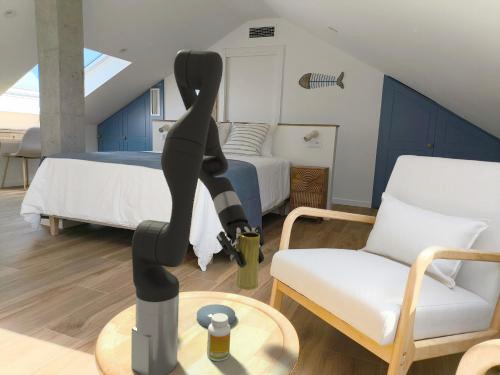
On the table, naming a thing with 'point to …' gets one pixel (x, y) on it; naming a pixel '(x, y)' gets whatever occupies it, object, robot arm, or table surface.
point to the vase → (249, 261)
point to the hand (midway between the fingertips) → (252, 264)
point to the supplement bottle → (218, 338)
